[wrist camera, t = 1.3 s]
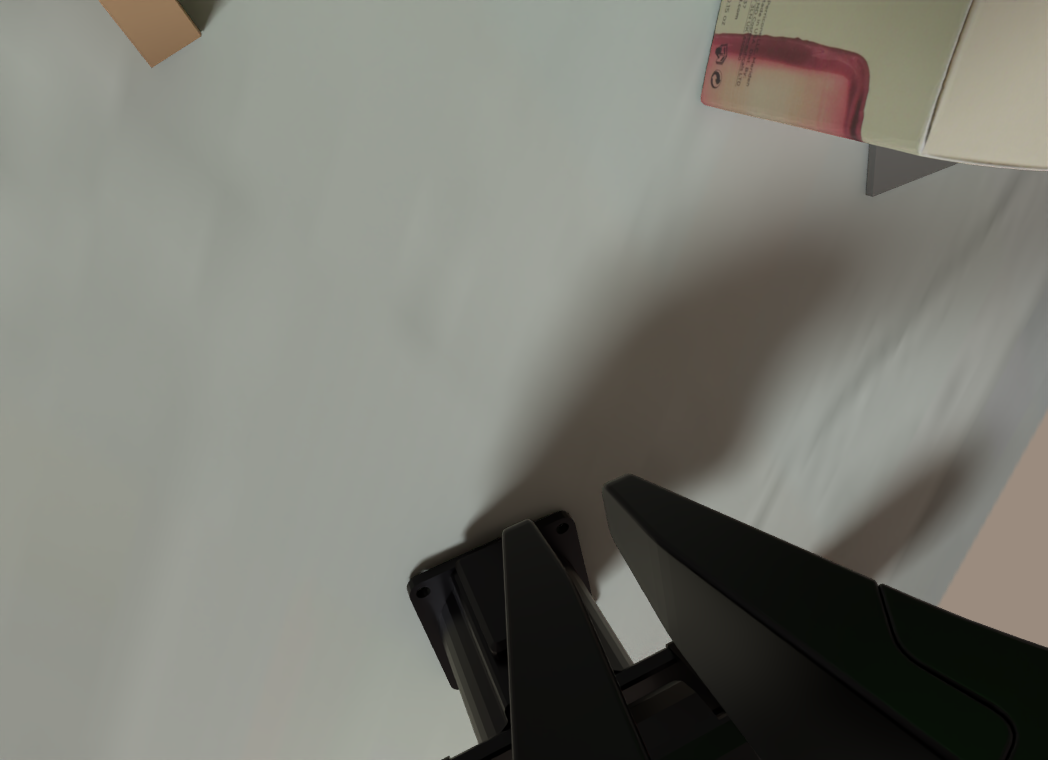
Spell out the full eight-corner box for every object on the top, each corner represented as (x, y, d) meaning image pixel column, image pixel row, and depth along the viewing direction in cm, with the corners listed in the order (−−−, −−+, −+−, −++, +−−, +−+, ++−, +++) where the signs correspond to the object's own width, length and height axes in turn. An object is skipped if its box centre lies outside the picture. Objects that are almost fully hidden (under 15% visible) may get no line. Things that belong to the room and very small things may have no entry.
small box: (692, 105, 20) (913, 161, 14) (733, -67, 19) (1010, -92, 12) (822, 122, 22) (1066, 179, 16) (871, -32, 21) (1170, -36, 14)
